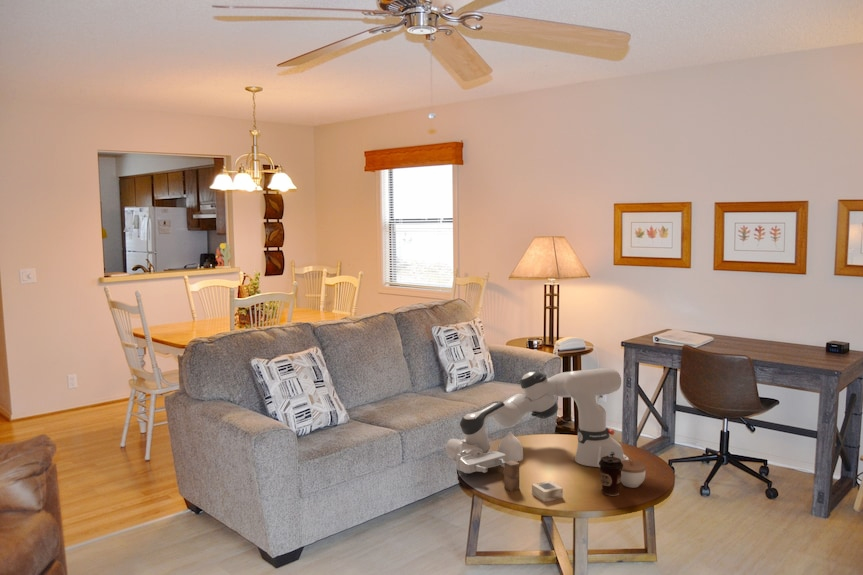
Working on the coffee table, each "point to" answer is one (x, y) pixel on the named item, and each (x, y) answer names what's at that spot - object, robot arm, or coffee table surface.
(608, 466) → the coffee cup
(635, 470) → the lidded jar
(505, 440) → the teardrop
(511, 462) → the walnut pillar
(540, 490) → the birch plinth
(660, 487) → the coffee table surface
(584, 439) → the robot arm
